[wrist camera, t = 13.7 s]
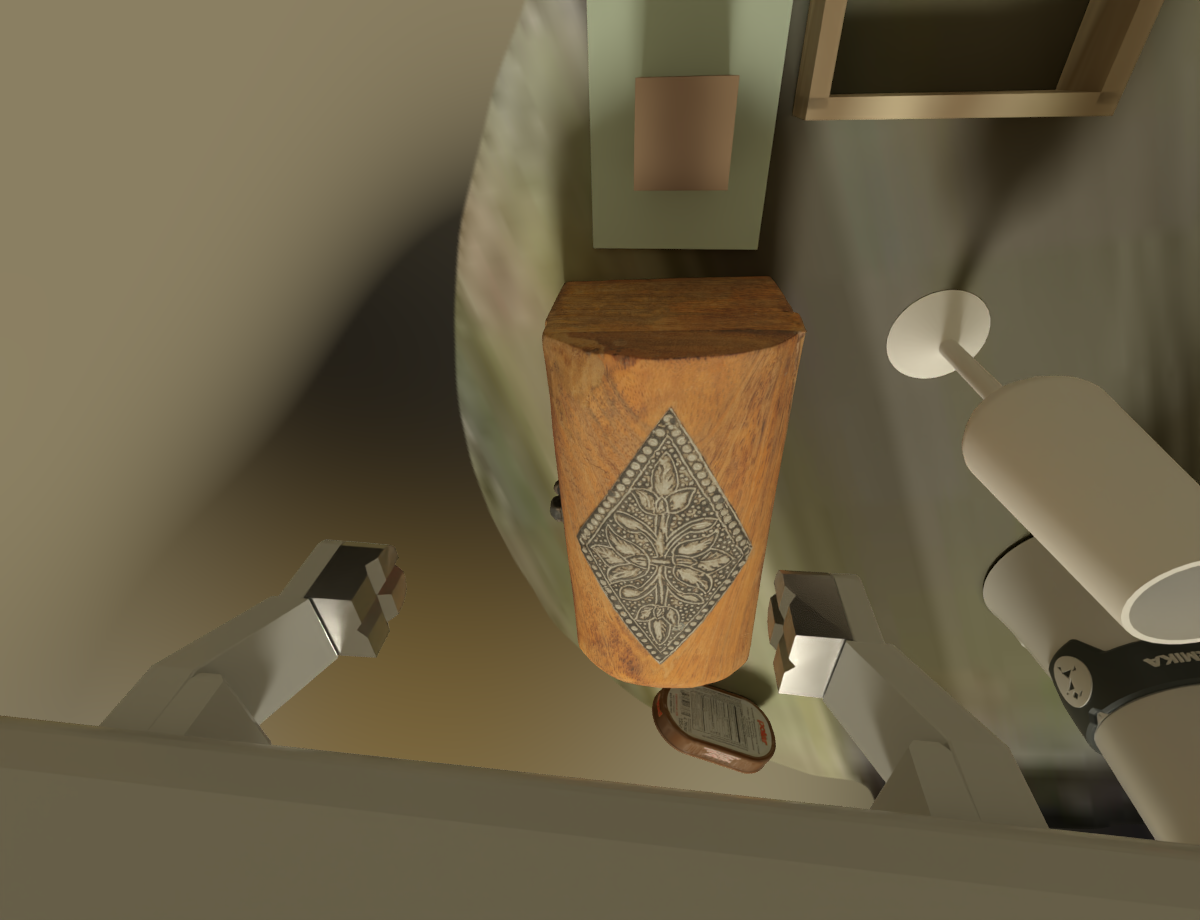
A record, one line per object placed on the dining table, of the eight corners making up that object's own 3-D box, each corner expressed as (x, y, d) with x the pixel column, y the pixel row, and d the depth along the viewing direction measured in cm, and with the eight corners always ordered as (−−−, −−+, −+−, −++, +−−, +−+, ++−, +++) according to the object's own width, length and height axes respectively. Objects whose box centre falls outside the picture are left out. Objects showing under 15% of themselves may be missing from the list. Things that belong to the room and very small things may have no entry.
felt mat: (795, -32, 28) (797, -33, 28) (756, 247, 37) (757, 249, 36) (587, -23, 30) (586, -24, 29) (594, 245, 38) (593, 248, 37)
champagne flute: (1009, 335, 38) (1358, 609, 19) (918, 395, 41) (1134, 680, 22) (958, 268, 36) (1291, 499, 17) (866, 337, 39) (1054, 597, 20)
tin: (652, 678, 67) (649, 747, 60) (662, 665, 65) (661, 734, 58) (760, 714, 69) (769, 784, 62) (773, 702, 67) (785, 773, 60)
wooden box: (550, 274, 39) (501, 355, 28) (785, 271, 37) (832, 356, 26) (579, 564, 57) (555, 685, 46) (740, 572, 55) (757, 701, 44)
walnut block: (729, 74, 31) (739, 75, 26) (719, 173, 34) (727, 190, 29) (641, 76, 31) (635, 77, 26) (639, 173, 34) (633, 190, 29)
